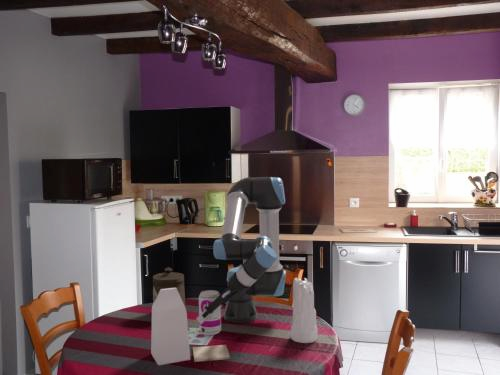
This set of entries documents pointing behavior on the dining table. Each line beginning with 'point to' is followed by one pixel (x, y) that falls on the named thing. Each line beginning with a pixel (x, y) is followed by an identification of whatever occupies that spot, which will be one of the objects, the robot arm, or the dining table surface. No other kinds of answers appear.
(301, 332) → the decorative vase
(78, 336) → the dining table surface
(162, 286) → the wooden container
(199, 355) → the beige cloth
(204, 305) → the supplement can
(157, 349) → the milk
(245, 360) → the dining table surface
